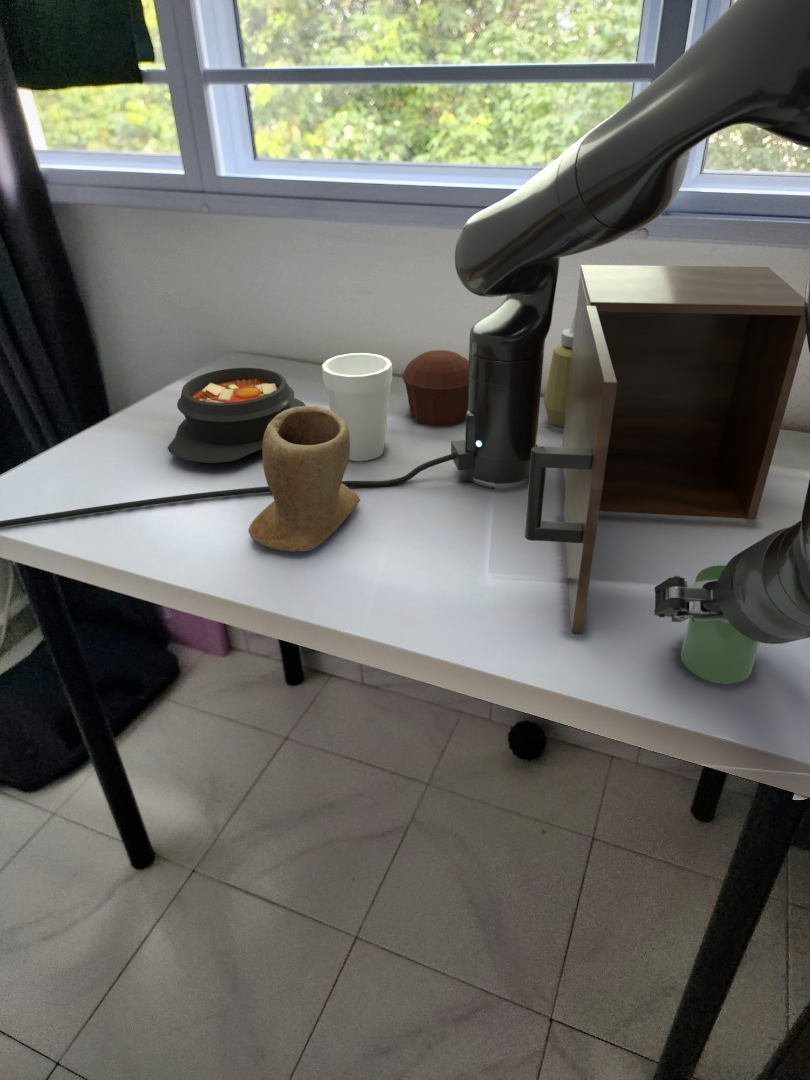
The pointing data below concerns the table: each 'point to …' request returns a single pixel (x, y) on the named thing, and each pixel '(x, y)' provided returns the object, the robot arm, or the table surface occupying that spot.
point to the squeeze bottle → (559, 378)
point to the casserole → (229, 413)
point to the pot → (717, 646)
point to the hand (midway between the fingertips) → (721, 613)
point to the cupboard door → (578, 468)
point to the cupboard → (691, 383)
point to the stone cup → (304, 479)
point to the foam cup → (360, 399)
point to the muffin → (437, 387)
